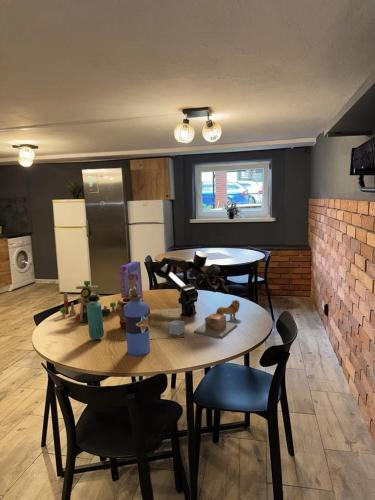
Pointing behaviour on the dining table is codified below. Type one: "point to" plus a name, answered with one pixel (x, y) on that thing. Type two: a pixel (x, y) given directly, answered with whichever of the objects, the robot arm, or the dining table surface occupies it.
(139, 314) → the water bottle
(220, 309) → the lion figurine
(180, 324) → the slate-gray cube
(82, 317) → the toy construction set
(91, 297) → the teal caped figurine
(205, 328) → the tower base
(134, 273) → the cereal box
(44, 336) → the dining table surface
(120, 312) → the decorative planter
